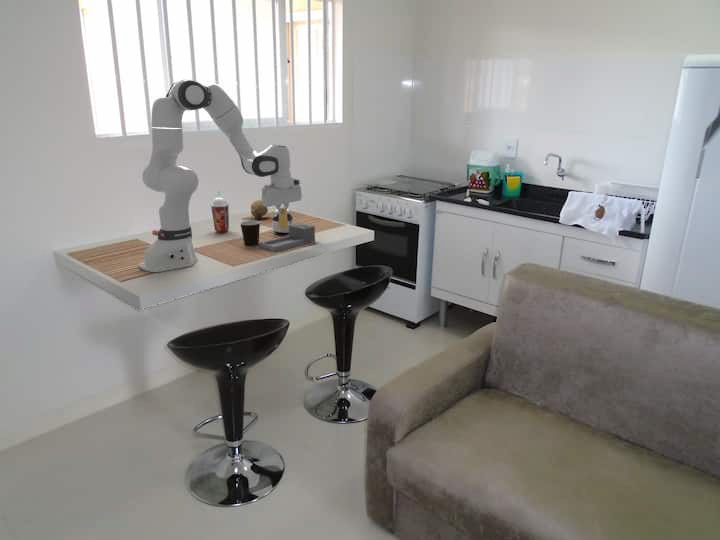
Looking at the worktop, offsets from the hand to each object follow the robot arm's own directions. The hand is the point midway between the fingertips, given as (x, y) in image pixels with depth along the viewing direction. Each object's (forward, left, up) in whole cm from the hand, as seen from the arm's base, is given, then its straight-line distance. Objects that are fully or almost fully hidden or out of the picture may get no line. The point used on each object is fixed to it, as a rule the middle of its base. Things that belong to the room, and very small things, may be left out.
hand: (282, 213), depth 237 cm
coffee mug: (-8, +13, -15) cm, 21 cm away
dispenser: (+2, 0, -15) cm, 15 cm away
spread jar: (+14, +19, -15) cm, 28 cm away
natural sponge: (+26, +52, -15) cm, 60 cm away
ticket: (0, 0, -7) cm, 7 cm away
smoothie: (-5, +42, -15) cm, 45 cm away
